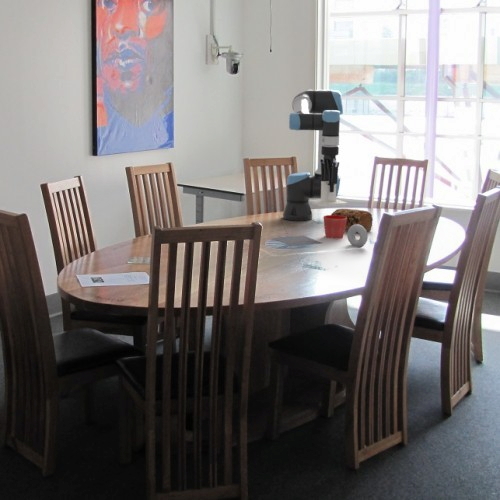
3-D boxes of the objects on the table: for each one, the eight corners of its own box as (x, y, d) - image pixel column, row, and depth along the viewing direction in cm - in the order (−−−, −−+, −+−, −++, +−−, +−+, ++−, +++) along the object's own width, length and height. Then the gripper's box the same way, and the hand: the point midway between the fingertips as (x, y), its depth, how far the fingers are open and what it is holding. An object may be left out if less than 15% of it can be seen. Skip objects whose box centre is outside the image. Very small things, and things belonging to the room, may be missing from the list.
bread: (372, 231, 383) (373, 210, 381) (356, 234, 376) (357, 212, 374) (344, 225, 397) (345, 205, 395) (328, 227, 391) (329, 207, 388)
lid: (308, 202, 365) (309, 180, 362) (333, 201, 369) (334, 178, 367) (322, 207, 353) (322, 183, 351) (348, 205, 358) (348, 182, 356)
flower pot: (346, 235, 371) (346, 215, 369) (346, 240, 361) (347, 219, 358) (322, 235, 372) (323, 214, 370) (322, 239, 362) (323, 218, 359)
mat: (272, 239, 361) (272, 237, 361) (303, 236, 368) (303, 235, 368) (290, 247, 345) (290, 245, 345) (323, 244, 352) (323, 243, 352)
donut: (345, 246, 349) (346, 223, 347) (349, 244, 352) (350, 222, 350) (364, 249, 343) (365, 226, 341) (368, 248, 345) (369, 225, 343)
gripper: (314, 144, 361) (312, 196, 366) (331, 147, 347) (329, 201, 352) (329, 144, 364) (327, 195, 369) (346, 147, 350) (344, 201, 355)
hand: (328, 198), depth 361 cm, fingers closed on lid, 3 cm apart
